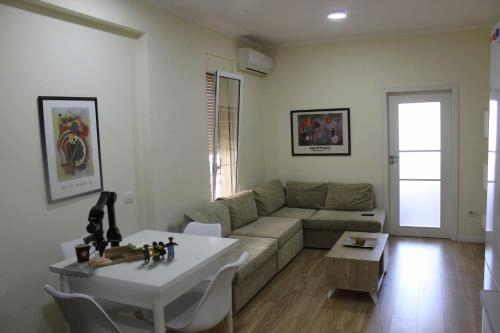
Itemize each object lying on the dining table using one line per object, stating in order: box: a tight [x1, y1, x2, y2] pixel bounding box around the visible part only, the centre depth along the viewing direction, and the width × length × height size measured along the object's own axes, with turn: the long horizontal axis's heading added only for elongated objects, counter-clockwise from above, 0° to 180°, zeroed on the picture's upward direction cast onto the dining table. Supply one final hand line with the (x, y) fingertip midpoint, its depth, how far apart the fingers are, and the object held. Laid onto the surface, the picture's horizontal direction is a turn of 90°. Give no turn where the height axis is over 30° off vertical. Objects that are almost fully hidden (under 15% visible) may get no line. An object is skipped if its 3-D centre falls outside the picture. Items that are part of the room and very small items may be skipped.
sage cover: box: [127, 241, 153, 250], centre depth 258 cm, size 10×11×2 cm
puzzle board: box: [88, 242, 153, 269], centre depth 251 cm, size 13×34×7 cm, turn 124°
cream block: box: [93, 250, 105, 262], centre depth 245 cm, size 4×4×6 cm
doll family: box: [140, 236, 179, 264], centre depth 249 cm, size 23×9×13 cm, turn 139°
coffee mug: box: [74, 242, 96, 263], centre depth 252 cm, size 12×9×10 cm
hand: (99, 255), depth 245 cm, fingers open, 6 cm apart
